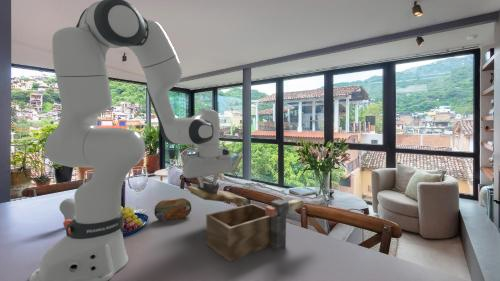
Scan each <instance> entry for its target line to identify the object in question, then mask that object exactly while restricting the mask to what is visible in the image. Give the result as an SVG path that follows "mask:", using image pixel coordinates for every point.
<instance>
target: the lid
mask: <svg viewBox="0 0 500 281" xmlns="http://www.w3.org/2000/svg"><path fill="white" fill-rule="evenodd" d="M203 182H204V183H206V187H203V188H201V187H200V182H199V181H198V185H197V187H196V186H191V185H189V186H187V188H186V189H187V190H188V191H190V194H192V195H194V196H196V197H197V198H200V199H203V200H204V201H214V202H224V203H232V204H240V205H241V204H242V202H245V203H246V202H247V200H248V198H246V197H243V196H241V195H238V194H235V193H233V192H230V191H227V190H226V191H225V190H219V187H220V186H218V185H217V184H216V185H213V184H211V182H208V181H204V180H203Z"/></svg>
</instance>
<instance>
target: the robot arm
mask: <svg viewBox="0 0 500 281" xmlns="http://www.w3.org/2000/svg"><path fill="white" fill-rule="evenodd" d="M124 47H126V48H128V49H130V51H132V52H133V54H134V56H136V58H137V60H138V63H139V64H140V67H141V68H142V69H141V70H142V71H143V73H144V75H145V79H146V85H145V86H146V91H147V95H148V97H149V100H150V103H151V105H152V108H153V110H154V112H155V115H156V119H157V121H158V123H159V129H160V134H161V138H162V139H163V140H164V142H166V143H167V144H169V145H189V146H190V145H192V146H194V145H196V151H195V152H187V153H186V154H184V155H183V157H182V162H183V165H182V176H183V178H186V179H191V178H197V180H198V183H199V182H200V187H201V188H203V187H206V183H204V182H203V181H204V177H206V176H213V178H212V180H210V183H211V184H213V185H216V186H217V182H218V179H219V177H220V175H221V174H222V175H223V174H228V173H231V172H232V170H233V159H232V157H231V154H232V151H231V149H229V148H226V147H221V142H220V134H221V132H220V130H221V129H220V128H221V127H220V126H221V124H220V116H219V113H218V112H217V111H216V110H214V109H208V108H201V109H199V110H198V112H197V113H195V115H192V116H190V117H179V116H177V115H176V114H175V112H174V108H173V107H172V103H171V100H170V98H169V91H170V90H171V89H173V88H174V87H175V86H176V85H178V83H179V82H180V80H181V77H182V75H183V69H182V68H183V67H182V65H181V62H180V59H179V56H178V54H177V52H176V50H175V48H174V45H173V44H172V42H171V39H170V38H169V35H167V32H165V29H164V28H163V27H162V25H161V24H160V23H158V22H157V21H155V20H150V19H146V18H145V17H144V16H143V15H142V14H141V13H140V12H139V10H138V9H136V7H135V6H134V5H133V4H131V3H129V2H128V1H126V0H100V1H96V2H93V3H92V4H90V5H89V6H88V7H87V8H85V9H84V10H83V11H82V13H81V14H80V17H79V19H78V22H77V23H76V26H73V27H72V26H71V27H69V26H67V27H63V28H60V29H58V30H57V31H56V32H54V34H53V35H52V60H53V62H52V63H53V69H54V73H55V79H56V82H57V88H58V91H59V92H58V93H59V97H60V98H59V99H60V104H61V107H60V108H61V109H60V111H61V112H60V118H59V121H58V124H57V126H56V127H55V129H54V130H53V131H52V132H51V133H49V135H48V136H47V138H46V139H45V141H44V153H45V156H46V158H47V159H48V160H49V162H50V163H51V162H52V163H53V164H55V165H60V166H63V167H69V168H92V169H93V170H92V176H91V179H90V180H88V181H86V182H84V183H82V184H81V185H80V186H78V188H77V189H76V190H75V192H74V196H73V199H74V201H75V219H74V220H71V219H66V220H65V219H64V221H63V223H62V224H63V227H64V228H65V233H66V234H65V235H64V236H63V237H62V238H61V239H60V240H58V241H57V242H56V243H54V244H53V245H52V246H51V247H50V248H48V249H47V250H46V251H45V253H44V255H43V256H42V259H41V262H40V265H39V268H37V269H36V270H34V271H33V273H32V274H31V275H30V277H29V279H28V281H109V280H111V279H112V278H113V276H114V275H115V274H116V273H117V272H118V271H120V270H121V269H122V268H123V267H125V266H126V265H127V263H128V262H129V255H128V253H127V251H126V247H125V243H124V242H125V241H124V236H123V232H124V225H125V224H124V214H123V212H122V189H123V185H124V181H125V180H126V177H127V175H128V174H129V172H130V171H131V170H132V169H133V168H134V167H136V166H137V165H138V164H139V163H140V162H141V161H142V160H143V158H144V155H145V153H146V143H145V140H144V138H143V136H142V135H141V134H140V133H139V132H138V131H135V130H131V129H126V128H122V127H98V117H99V116H100V115H101V114H103V113H105V112H106V111H108V110H109V109H110V107H111V105H112V102H113V100H112V92H111V88H110V80H109V75H108V70H107V69H108V68H107V65H106V57H107V52H108V50H109V49H121V48H124Z"/></svg>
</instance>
